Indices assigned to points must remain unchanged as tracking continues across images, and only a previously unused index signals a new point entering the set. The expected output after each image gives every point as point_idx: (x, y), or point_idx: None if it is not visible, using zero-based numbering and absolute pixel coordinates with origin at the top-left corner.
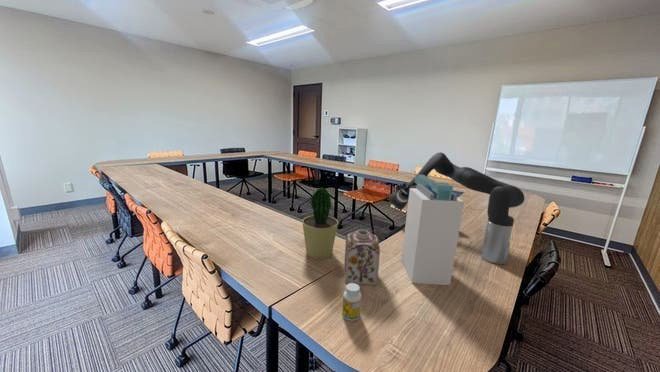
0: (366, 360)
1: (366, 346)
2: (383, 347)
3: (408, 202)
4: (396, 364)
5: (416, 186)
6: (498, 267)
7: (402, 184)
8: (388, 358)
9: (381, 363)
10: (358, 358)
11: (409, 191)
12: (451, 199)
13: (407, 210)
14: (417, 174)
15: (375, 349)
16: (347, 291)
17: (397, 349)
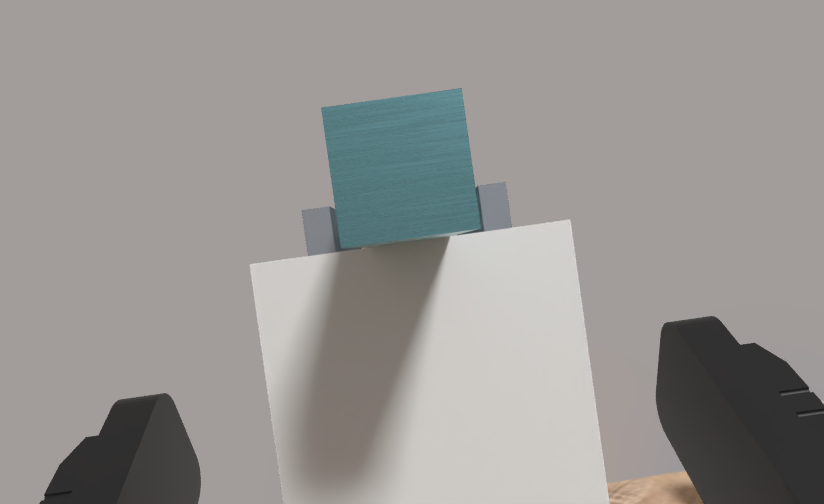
0: (669, 478)
1: (680, 492)
2: (642, 497)
3: (585, 351)
4: (609, 485)
5: (509, 210)
6: None
7: (795, 385)
8: (626, 487)
9: (638, 480)
10: (687, 477)
11: (574, 251)
12: (360, 248)
13: (596, 427)
14: (428, 95)
15: (658, 492)
16: None
17: (610, 500)
